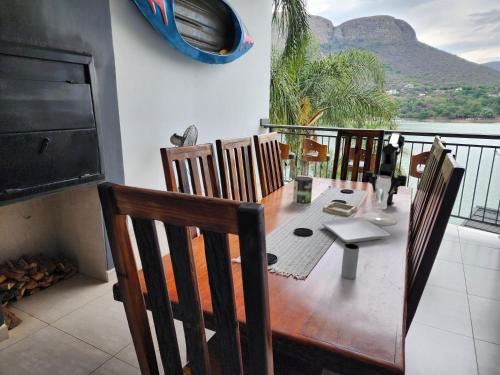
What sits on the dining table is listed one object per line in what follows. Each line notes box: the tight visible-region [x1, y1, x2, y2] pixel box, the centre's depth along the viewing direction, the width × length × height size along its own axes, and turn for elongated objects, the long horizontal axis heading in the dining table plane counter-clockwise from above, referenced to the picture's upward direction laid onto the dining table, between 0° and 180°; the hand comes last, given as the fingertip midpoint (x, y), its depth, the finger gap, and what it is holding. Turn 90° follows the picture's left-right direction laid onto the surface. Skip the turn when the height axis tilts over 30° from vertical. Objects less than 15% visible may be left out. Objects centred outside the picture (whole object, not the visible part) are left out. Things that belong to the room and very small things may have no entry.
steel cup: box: [373, 174, 392, 210], centre depth 149 cm, size 7×7×15 cm
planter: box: [340, 242, 360, 280], centre depth 99 cm, size 4×4×10 cm
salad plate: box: [320, 216, 391, 243], centre depth 134 cm, size 21×21×3 cm
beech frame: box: [322, 201, 358, 217], centre depth 164 cm, size 13×13×2 cm
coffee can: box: [292, 176, 314, 206], centre depth 175 cm, size 10×10×14 cm
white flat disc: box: [361, 212, 398, 226], centre depth 152 cm, size 16×16×1 cm
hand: (381, 193), depth 148 cm, fingers closed on steel cup, 7 cm apart
